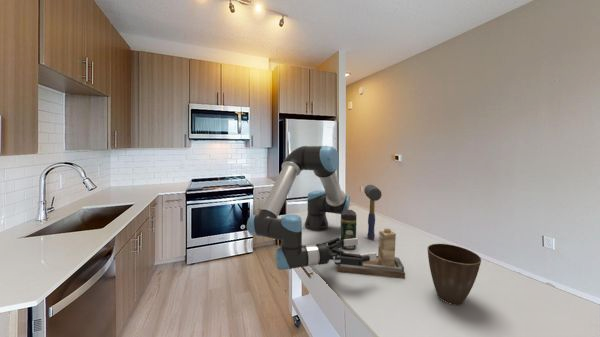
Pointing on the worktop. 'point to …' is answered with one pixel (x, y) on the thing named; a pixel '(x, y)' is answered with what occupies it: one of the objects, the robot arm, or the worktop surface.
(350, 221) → the coffee jar
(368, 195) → the rubber mallet
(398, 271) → the walnut board
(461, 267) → the plant pot
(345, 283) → the worktop surface
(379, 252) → the beige tall block
